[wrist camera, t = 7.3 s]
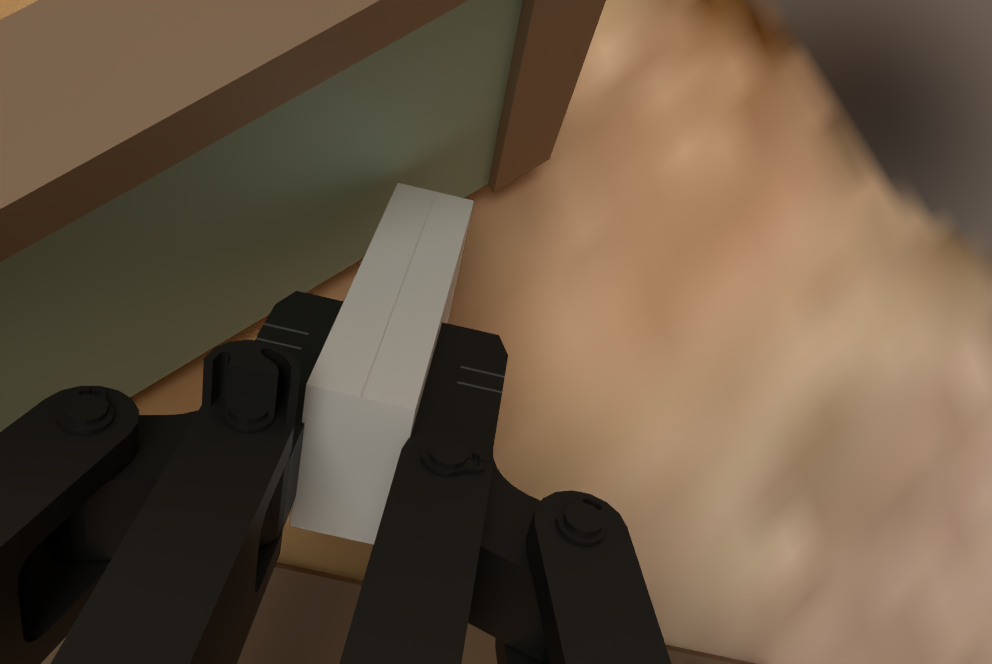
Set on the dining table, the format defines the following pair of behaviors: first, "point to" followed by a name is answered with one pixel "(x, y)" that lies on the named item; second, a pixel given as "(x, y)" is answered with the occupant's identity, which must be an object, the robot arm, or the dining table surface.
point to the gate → (239, 158)
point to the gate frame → (345, 624)
